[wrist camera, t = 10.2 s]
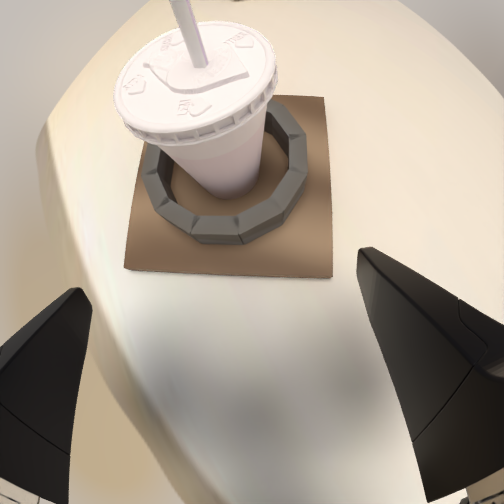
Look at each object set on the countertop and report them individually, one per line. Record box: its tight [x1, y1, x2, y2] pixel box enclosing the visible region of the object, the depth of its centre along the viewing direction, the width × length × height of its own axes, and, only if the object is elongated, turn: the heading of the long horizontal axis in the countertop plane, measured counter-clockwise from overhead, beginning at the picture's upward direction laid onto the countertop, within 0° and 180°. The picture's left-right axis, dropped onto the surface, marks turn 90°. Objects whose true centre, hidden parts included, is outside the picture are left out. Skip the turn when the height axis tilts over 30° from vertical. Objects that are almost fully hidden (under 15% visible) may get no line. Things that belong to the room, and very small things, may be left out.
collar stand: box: [124, 95, 333, 278], centre depth 18 cm, size 13×13×4 cm
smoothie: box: [113, 0, 278, 199], centre depth 12 cm, size 6×6×14 cm
